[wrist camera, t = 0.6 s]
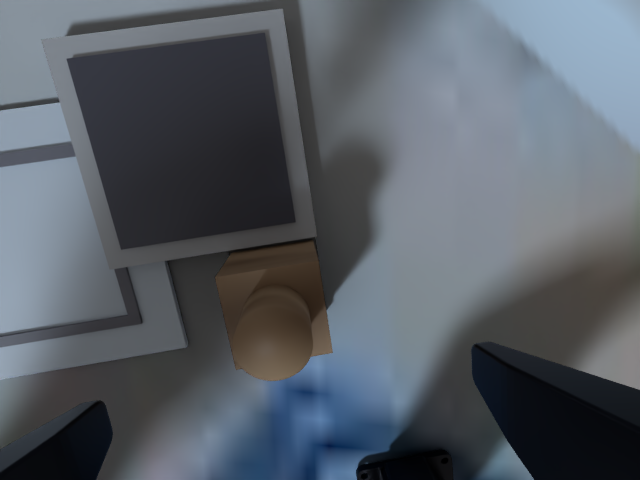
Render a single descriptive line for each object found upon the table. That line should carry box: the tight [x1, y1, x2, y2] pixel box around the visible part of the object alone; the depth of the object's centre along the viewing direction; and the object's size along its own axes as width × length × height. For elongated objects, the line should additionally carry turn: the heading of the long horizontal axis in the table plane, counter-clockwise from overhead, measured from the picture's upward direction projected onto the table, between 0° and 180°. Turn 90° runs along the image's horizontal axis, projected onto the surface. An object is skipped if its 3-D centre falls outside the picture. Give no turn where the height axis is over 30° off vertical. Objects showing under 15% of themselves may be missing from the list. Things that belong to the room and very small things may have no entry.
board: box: [0, 102, 188, 380], centre depth 18 cm, size 14×14×1 cm
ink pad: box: [41, 9, 317, 270], centre depth 17 cm, size 11×11×2 cm
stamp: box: [215, 237, 333, 381], centre depth 17 cm, size 5×5×8 cm
